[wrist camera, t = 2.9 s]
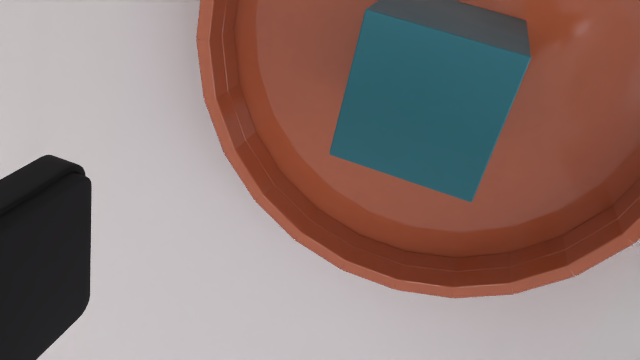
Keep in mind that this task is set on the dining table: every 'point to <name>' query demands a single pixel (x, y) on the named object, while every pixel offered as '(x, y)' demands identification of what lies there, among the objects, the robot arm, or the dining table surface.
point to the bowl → (418, 201)
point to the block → (431, 91)
